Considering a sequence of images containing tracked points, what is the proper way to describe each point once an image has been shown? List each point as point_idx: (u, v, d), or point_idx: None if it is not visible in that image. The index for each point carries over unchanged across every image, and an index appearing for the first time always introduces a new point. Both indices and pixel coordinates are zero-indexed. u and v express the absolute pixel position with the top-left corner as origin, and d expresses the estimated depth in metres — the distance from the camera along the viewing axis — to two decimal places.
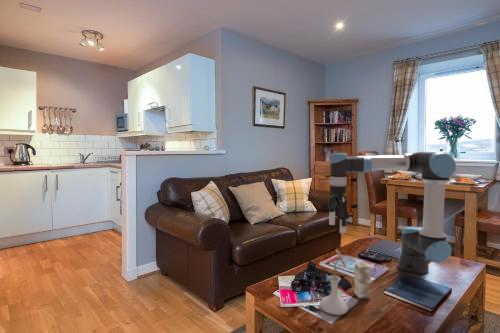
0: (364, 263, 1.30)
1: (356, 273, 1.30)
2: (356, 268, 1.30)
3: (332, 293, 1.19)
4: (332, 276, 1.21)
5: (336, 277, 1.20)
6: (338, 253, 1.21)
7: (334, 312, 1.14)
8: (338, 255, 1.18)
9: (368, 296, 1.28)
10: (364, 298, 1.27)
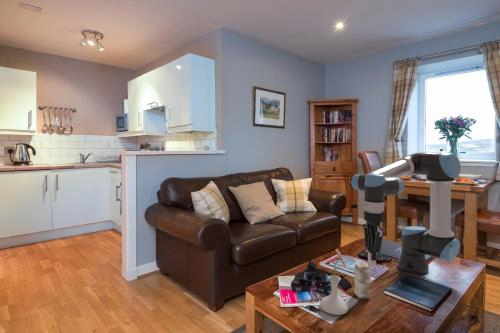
0: (364, 263, 1.30)
1: (356, 273, 1.30)
2: (356, 268, 1.30)
3: (332, 293, 1.19)
4: (332, 276, 1.21)
5: (336, 277, 1.20)
6: (338, 253, 1.21)
7: (334, 312, 1.14)
8: (338, 255, 1.18)
9: (368, 296, 1.28)
10: (364, 298, 1.27)
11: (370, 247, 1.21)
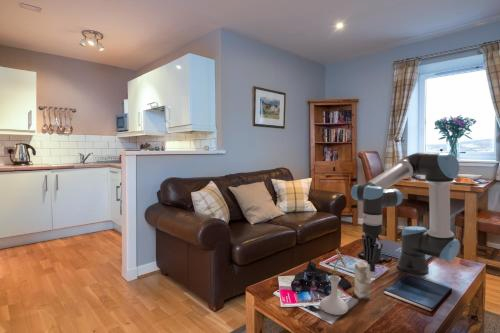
0: (364, 263, 1.30)
1: (356, 273, 1.30)
2: (356, 268, 1.30)
3: (332, 293, 1.19)
4: (332, 276, 1.21)
5: (336, 277, 1.20)
6: (338, 253, 1.21)
7: (334, 312, 1.14)
8: (338, 255, 1.18)
9: (368, 296, 1.28)
10: (364, 298, 1.27)
11: None
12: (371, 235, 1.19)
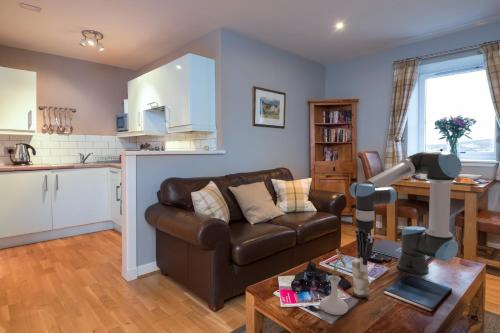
0: None
1: (353, 270, 1.32)
2: (353, 265, 1.33)
3: (332, 293, 1.19)
4: (332, 276, 1.21)
5: (336, 277, 1.20)
6: (338, 253, 1.21)
7: (334, 312, 1.14)
8: (338, 255, 1.18)
9: (368, 293, 1.28)
10: (364, 295, 1.28)
11: None
12: (364, 230, 1.25)
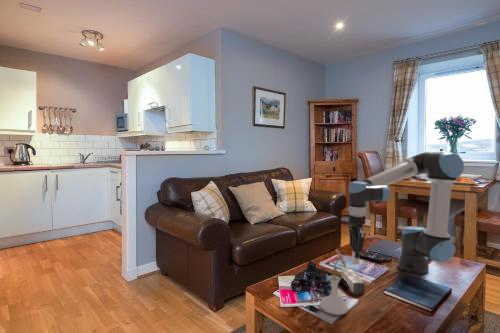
0: None
1: (344, 279, 1.43)
2: (342, 277, 1.45)
3: (332, 293, 1.19)
4: (332, 276, 1.21)
5: (336, 277, 1.20)
6: (338, 253, 1.21)
7: (334, 312, 1.14)
8: (338, 255, 1.18)
9: (361, 281, 1.34)
10: (358, 282, 1.33)
11: None
12: (356, 225, 1.33)
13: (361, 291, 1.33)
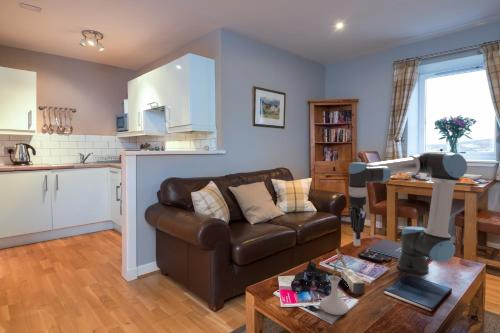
0: None
1: (344, 279, 1.43)
2: (342, 277, 1.45)
3: (332, 293, 1.19)
4: (332, 276, 1.21)
5: (336, 277, 1.20)
6: (338, 253, 1.21)
7: (334, 312, 1.14)
8: (338, 255, 1.18)
9: (361, 281, 1.34)
10: (358, 282, 1.33)
11: None
12: (356, 206, 1.32)
13: (361, 291, 1.33)
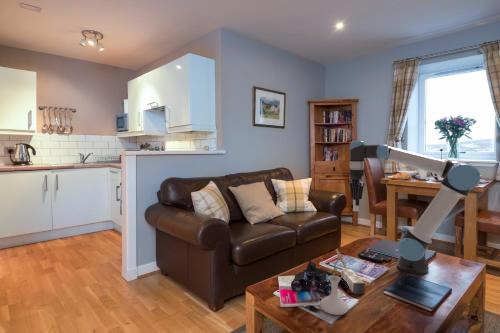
0: None
1: (344, 279, 1.43)
2: (342, 277, 1.45)
3: (332, 293, 1.19)
4: (332, 276, 1.21)
5: (336, 277, 1.20)
6: (338, 253, 1.21)
7: (334, 312, 1.14)
8: (338, 255, 1.18)
9: (361, 281, 1.34)
10: (358, 282, 1.33)
11: (354, 196, 1.62)
12: (356, 177, 1.58)
13: (361, 291, 1.33)
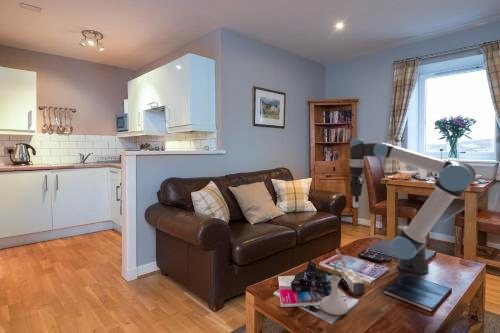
0: None
1: (344, 279, 1.43)
2: (342, 277, 1.45)
3: (332, 293, 1.19)
4: (332, 276, 1.21)
5: (336, 277, 1.20)
6: (338, 253, 1.21)
7: (334, 312, 1.14)
8: (338, 255, 1.18)
9: (361, 281, 1.34)
10: (358, 282, 1.33)
11: None
12: (355, 175, 1.63)
13: (361, 291, 1.33)
